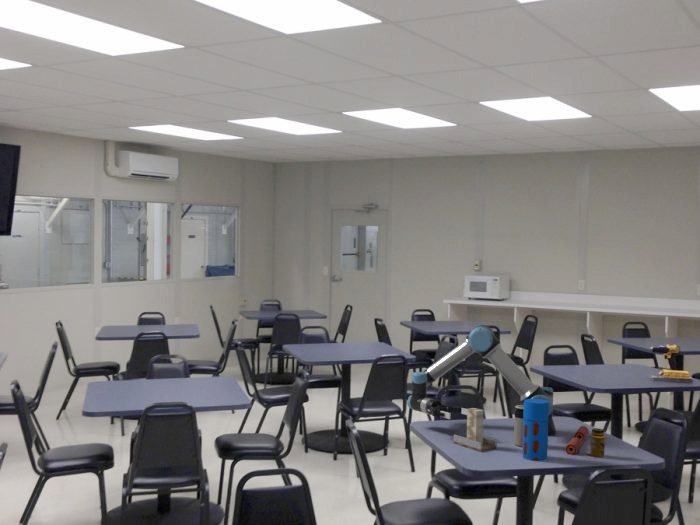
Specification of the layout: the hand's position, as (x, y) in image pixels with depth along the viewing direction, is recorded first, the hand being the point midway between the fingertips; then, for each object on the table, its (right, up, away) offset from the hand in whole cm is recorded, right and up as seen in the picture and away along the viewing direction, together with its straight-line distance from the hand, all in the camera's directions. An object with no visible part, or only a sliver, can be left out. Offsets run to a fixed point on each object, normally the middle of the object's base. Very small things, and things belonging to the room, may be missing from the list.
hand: (460, 414), depth 366 cm
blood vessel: (+55, -15, 0) cm, 57 cm away
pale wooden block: (+5, -12, -8) cm, 15 cm away
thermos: (+29, -14, -26) cm, 41 cm away
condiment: (+57, -15, -20) cm, 63 cm away
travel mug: (+28, -14, -3) cm, 32 cm away
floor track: (+5, -13, -8) cm, 16 cm away
